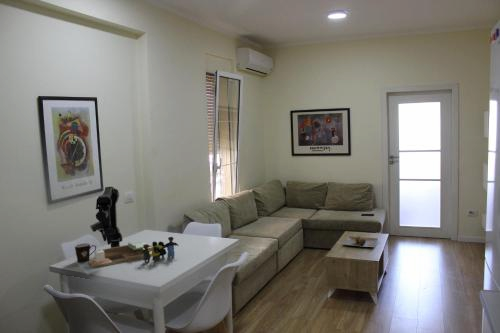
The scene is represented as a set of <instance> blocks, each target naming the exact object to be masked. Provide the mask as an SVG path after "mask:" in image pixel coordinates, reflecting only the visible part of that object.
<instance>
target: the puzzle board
mask: <svg viewBox="0 0 500 333" xmlns="http://www.w3.org/2000/svg"><path fill="white" fill-rule="evenodd" d="M137 243H138V242H135V243H134V244H137ZM140 243H142V242H140ZM143 249H144V248H141V249H136V250H134V249H132V248H130V247H129V246H128V244H125V245H120V246H119V247H113V248H111V247H109V248H103V249H98V250H97V251H100V250H103V251H104V253H105V261H101V262H96V261H95V258H94V259H89V261H88V264H89V265H90V266H91V267H92V268H93V269H98V268H102V267H107V266H111V265H117V264H121V263H127V262H132V261H137V260H141V259H144V253H140V251H142V250H143ZM149 254H150V258H152V257H153V256H151V255H152V253H151V252H149Z"/></svg>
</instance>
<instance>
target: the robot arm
mask: <svg viewBox="0 0 500 333" xmlns="http://www.w3.org/2000/svg"><path fill="white" fill-rule="evenodd" d="M119 198H120V192H119V189H116V187H115V188H114V186H106V187H105V188H104V191H103V193H102V194H101V195H99V196H98V197H97V199H96V203H95V204H96V205H95V210H98V211H97V212H96V214H95V218H96V220H97V222H95V223H93V224H91V225H90V226H89V227H90V229H91V231H92V232H93V233H96V232H97V231H98V232H100V233H101V237H102V239H103V242H106V243H107V245H110V248H113V247H119V246H121V244H120V243H121V242H123V235H122V232H121V230H120V228H119V227H118V221H117V220H118V219H117V216H118V215H117V213H118V212H117V203H118V201H119Z"/></svg>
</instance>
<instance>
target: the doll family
mask: <svg viewBox="0 0 500 333" xmlns="http://www.w3.org/2000/svg"><path fill="white" fill-rule="evenodd" d="M167 240H168V241H169V242H167V243H164V242H163V241H162V240H161V241H159V242H157V241H152V244H151V245H152V247H149V245H148V244H149V243H148V244H145V245H143V247H144V248H143V250H142V251H140V253H144V258H143V262H144V263H147V262H150V261H152V262H153V263H155V264H157V262H160V260H161V259H162V260H165V255H167V257H166V259H167V260H171V259H175V247H176V246H177V247H179V244H178V243H177V242H174V237H173V236H169V237H168V238H167ZM166 248H167V251H166ZM149 253H150V254H151V256H152V257H150V254H149ZM151 258H152V259H151Z"/></svg>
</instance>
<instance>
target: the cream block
mask: <svg viewBox="0 0 500 333" xmlns="http://www.w3.org/2000/svg"><path fill="white" fill-rule="evenodd" d="M99 250H100V251H98V250H95V251H94V250H93V251H94V259H95V261H96V262H101V261H105V253H104V251H103V250H102V249H99Z"/></svg>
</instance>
